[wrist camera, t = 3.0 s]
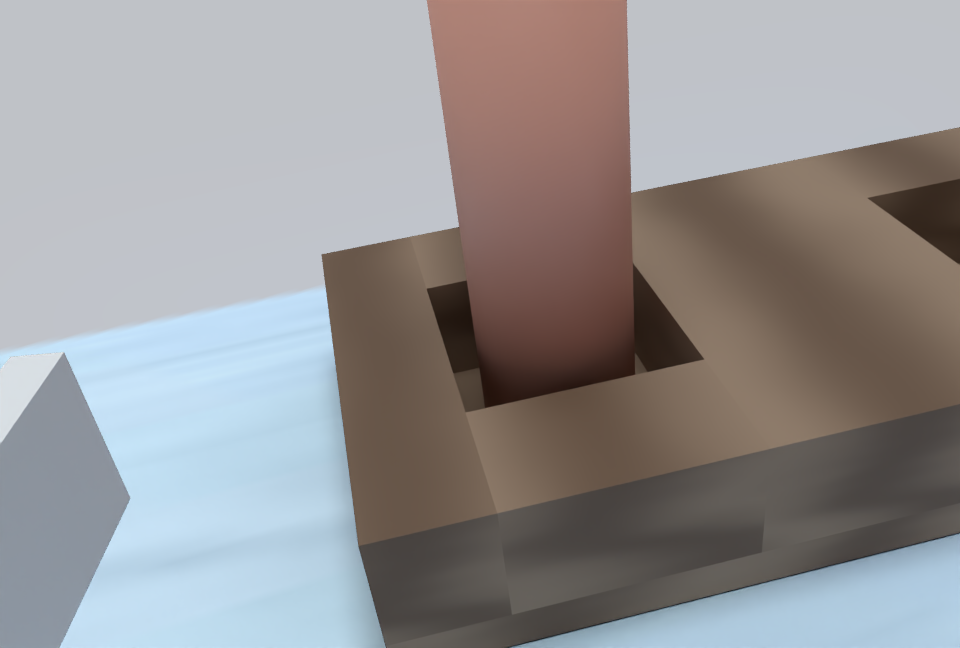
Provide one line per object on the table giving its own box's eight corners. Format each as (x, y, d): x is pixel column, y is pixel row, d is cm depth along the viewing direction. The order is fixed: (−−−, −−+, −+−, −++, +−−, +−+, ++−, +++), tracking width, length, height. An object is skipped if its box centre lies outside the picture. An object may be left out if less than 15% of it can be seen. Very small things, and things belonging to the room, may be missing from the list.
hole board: (1019, 218, 32) (1046, 110, 30) (1366, 429, 22) (1445, 289, 20) (347, 361, 29) (321, 254, 27) (393, 675, 19) (358, 545, 17)
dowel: (650, 379, 25) (643, -200, 17) (615, 476, 22) (588, -172, 14) (515, 360, 26) (453, -181, 19) (464, 449, 23) (365, -152, 16)
